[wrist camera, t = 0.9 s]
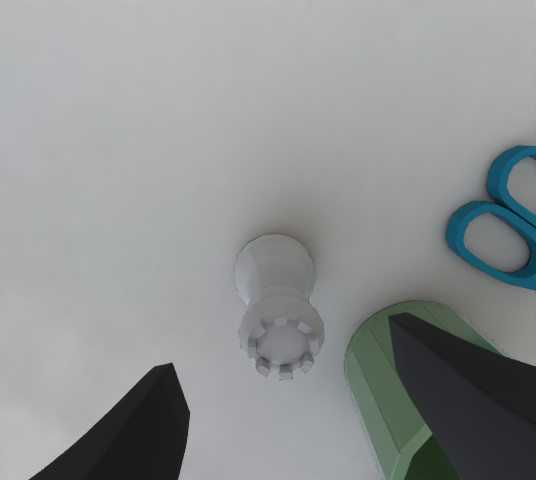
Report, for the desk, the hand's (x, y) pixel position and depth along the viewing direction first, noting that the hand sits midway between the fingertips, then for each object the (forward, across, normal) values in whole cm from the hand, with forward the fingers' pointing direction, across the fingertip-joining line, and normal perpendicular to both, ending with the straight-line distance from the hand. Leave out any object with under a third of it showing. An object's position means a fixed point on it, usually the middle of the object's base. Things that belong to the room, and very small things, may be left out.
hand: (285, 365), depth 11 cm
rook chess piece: (+9, 0, 0) cm, 9 cm away
